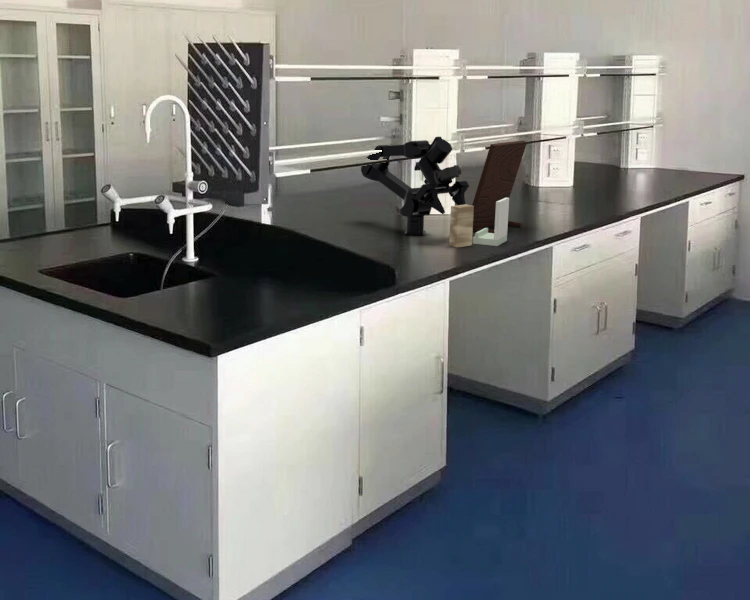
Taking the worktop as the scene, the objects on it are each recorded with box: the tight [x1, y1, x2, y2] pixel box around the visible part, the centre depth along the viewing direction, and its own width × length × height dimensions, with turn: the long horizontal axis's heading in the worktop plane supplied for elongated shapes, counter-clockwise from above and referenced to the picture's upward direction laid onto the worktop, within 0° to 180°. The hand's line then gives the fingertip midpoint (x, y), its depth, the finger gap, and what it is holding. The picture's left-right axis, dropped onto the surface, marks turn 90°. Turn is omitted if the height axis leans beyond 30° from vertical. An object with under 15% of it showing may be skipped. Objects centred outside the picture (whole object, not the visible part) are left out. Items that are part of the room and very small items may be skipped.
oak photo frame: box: [448, 203, 474, 248], centre depth 283 cm, size 4×6×12 cm, turn 129°
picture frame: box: [472, 139, 528, 233], centre depth 309 cm, size 21×11×30 cm, turn 141°
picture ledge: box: [472, 197, 510, 247], centre depth 289 cm, size 8×10×14 cm
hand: (454, 211), depth 285 cm, fingers open, 9 cm apart
